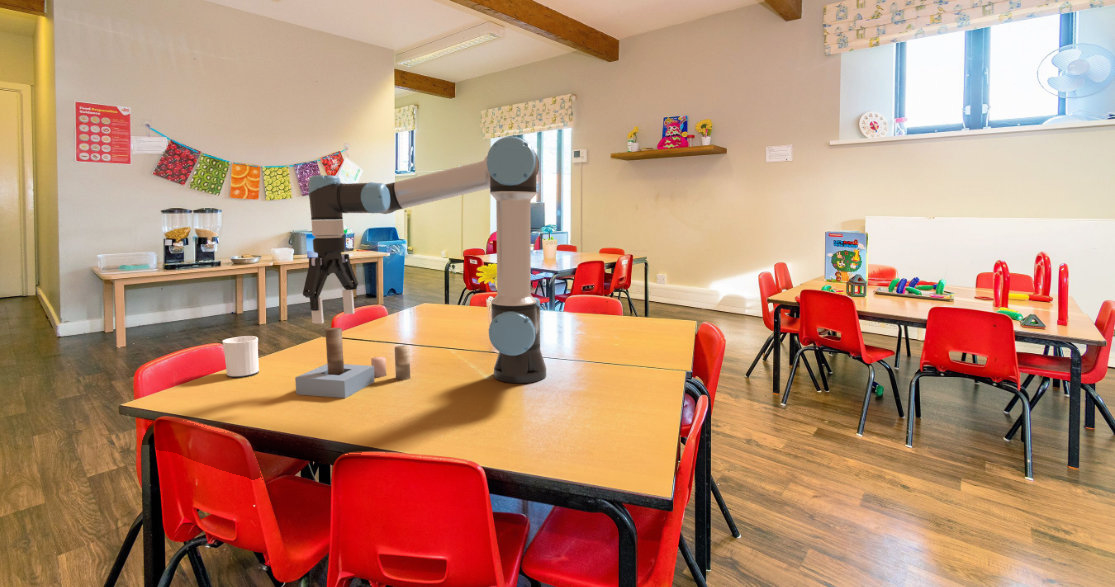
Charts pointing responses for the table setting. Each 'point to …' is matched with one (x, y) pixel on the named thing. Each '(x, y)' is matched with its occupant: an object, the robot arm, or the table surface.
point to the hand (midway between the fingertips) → (334, 318)
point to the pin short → (379, 366)
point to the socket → (334, 381)
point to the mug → (241, 356)
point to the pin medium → (402, 362)
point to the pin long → (334, 351)
